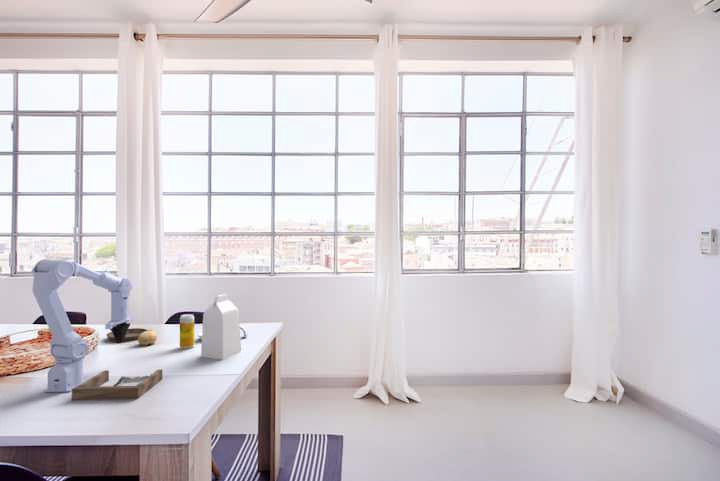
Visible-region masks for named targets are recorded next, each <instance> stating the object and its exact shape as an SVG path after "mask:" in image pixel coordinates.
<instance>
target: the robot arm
mask: <svg viewBox="0 0 720 481" xmlns="http://www.w3.org/2000/svg"><path fill="white" fill-rule="evenodd" d="M31 273H32V275H33V282H32V294H33V295H34V298H35V300H36V303H37V305H38V307H39V309H40V311H41V313H42V316H43V317H44V320H45V322H46V324H47V326H48V329H49V331H50V333H51V336H52V338H50V340H49V341H48V342H49V344H50V352H49V353H50V355H51V356H52V357H53V358H54V361H55V363H54V365H53V366H52V367H50V369H49V370H48V372H47V389H46V390H44V392H45V393H60V392H61V393H65V392H67V393H68V392H72V389H73V388H75V387H76V386H78V385H80V384H82V383H83V382H85V381H87V380H89V379H90V378H84V371H83V370H84V365H83V364H84V359H85V357H86V355H87V353H88V352H89V344H88V343H87V342H86V341H84V340H83V338H82V336H81V335H80V334H78V333H77V332H76V331H74V329H73V327H72V324H71V322H70V319H69V317H68V314H67V312H66V309H65V308H64V305H63V302H62V300H61V298H60V295H59V293H58V289H59V288H60V287H61V286H62V285H63V284H65V282H66V281H67V280H69V279H70V277H72V276H77V277H80V278H82V279H83V278H84V279H87V280H90V281H92V284H93V285H95V286H96V287H99V288H102V289H105V290H107V291H108V292H109V293H110V296H111V297H110V303H111V304H110V307H111V308H110V321H108V322H107V323H105V326H104V327H105V328H104V329H105V330H110V332H112V333H113V335H114V338H115V341H116V342H115V341H114V342H115V343H116V344H123V343H124V342H125V341H124V339H125V335H126V332H127V330H128V329H130V326H131V323H130V322H132V321H134V315H129V301H130V300H129V297H130V295H131V290H132V289H133V286H134V285H133V284H132V282H131V281H130V279H129V278H123V277H121V276H120V275H117V274H116V275H115V274H112V273H111V271H110V270H101V271H97V270H93V269H91V268H89V267H87V266H84V265H82V264H79V263H78V262H76V261H71V260H69V259H48V258H47V259H46V258H45V259H44V258H43V259H41V260H39V261H37V263H36V264H35V265H34V266H33V268H32V269H31Z"/></svg>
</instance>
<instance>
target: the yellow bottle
mask: <svg viewBox="0 0 720 481" xmlns="http://www.w3.org/2000/svg"><path fill="white" fill-rule="evenodd" d="M194 346H195V316H194V314H192V313H191V314H190V313H188V314H186V313H185V314H182V315H180V317H179V347H180V349H181V350H187V349H188V350H189V349H192V348H194Z"/></svg>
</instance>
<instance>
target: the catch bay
mask: <svg viewBox="0 0 720 481" xmlns="http://www.w3.org/2000/svg"><path fill="white" fill-rule="evenodd" d="M148 376H149V377H147V378H146V379H144V380H143V381H139V383H137V384H136V385H121V386H113V385H109V386H108V385H107V386H106V385H105V386H102V385H104V384H106V383H107V382H108V381H109V380H110V379H109V378H110V372H109V370H103V371H101V372H100V373H98V374H96V375H94V376H93V377H90V378H88V379H89V380H87V381H85V382H83V383H82V384H80V385H78V386H76V387H75V388H73V389H72V390H71V401H89V400H90V401H93V400H94V401H95V400H100V401H101V400H129V399H130V400H134V399H136V400H137V399H140V397H142V396H143V395H144V394H146V393H147V392H148V391H149V390H151V389H152V388H153V387H154V386H156V385H157V384H158V383H159V382H161V381H162V380H163V369H157V370H156V371H154V372H153V373H151V374H150V375H148Z"/></svg>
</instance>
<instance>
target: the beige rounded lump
mask: <svg viewBox="0 0 720 481" xmlns="http://www.w3.org/2000/svg"><path fill="white" fill-rule="evenodd" d="M147 330H148V331H145V332H142V333H141V334H140V335H139V336H138V339H137V341H138V342H137V343H138V344H139V345H140V346H142V347H143V346H149V344H150V345H153V344H154V343H156V341H157V339H158V335H157V333H156V332H154V330H153V329H151V328H148V329H147Z"/></svg>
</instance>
